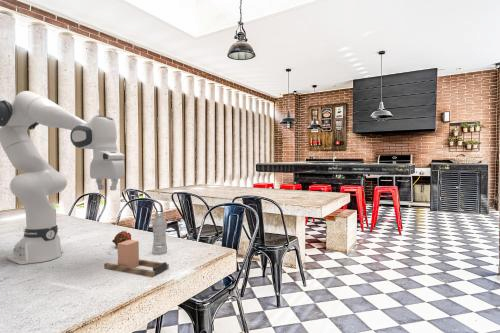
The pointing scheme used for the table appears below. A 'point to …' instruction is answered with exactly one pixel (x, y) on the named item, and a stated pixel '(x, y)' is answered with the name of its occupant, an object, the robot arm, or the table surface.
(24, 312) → the table surface
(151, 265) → the chute
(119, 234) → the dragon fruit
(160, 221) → the plastic bottle
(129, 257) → the block
